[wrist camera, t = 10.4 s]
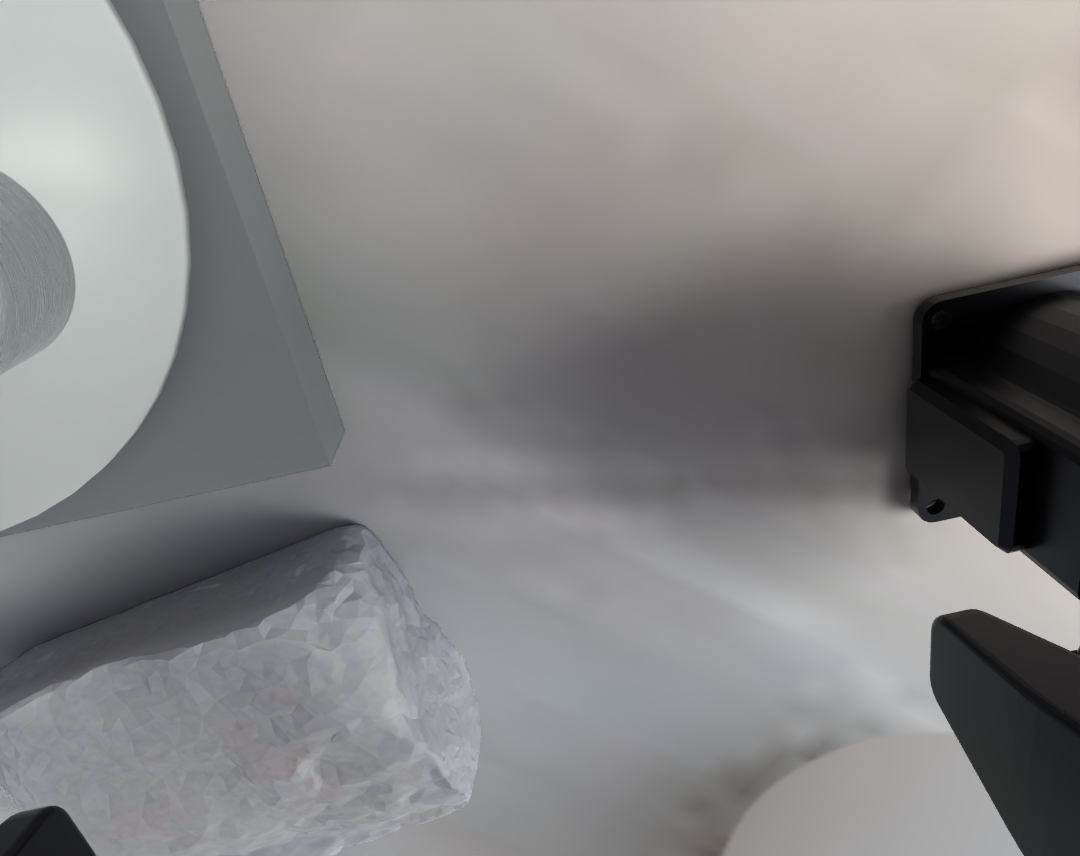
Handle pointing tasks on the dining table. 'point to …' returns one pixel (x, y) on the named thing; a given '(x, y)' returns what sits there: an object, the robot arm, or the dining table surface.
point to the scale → (147, 274)
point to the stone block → (249, 712)
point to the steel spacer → (30, 276)
